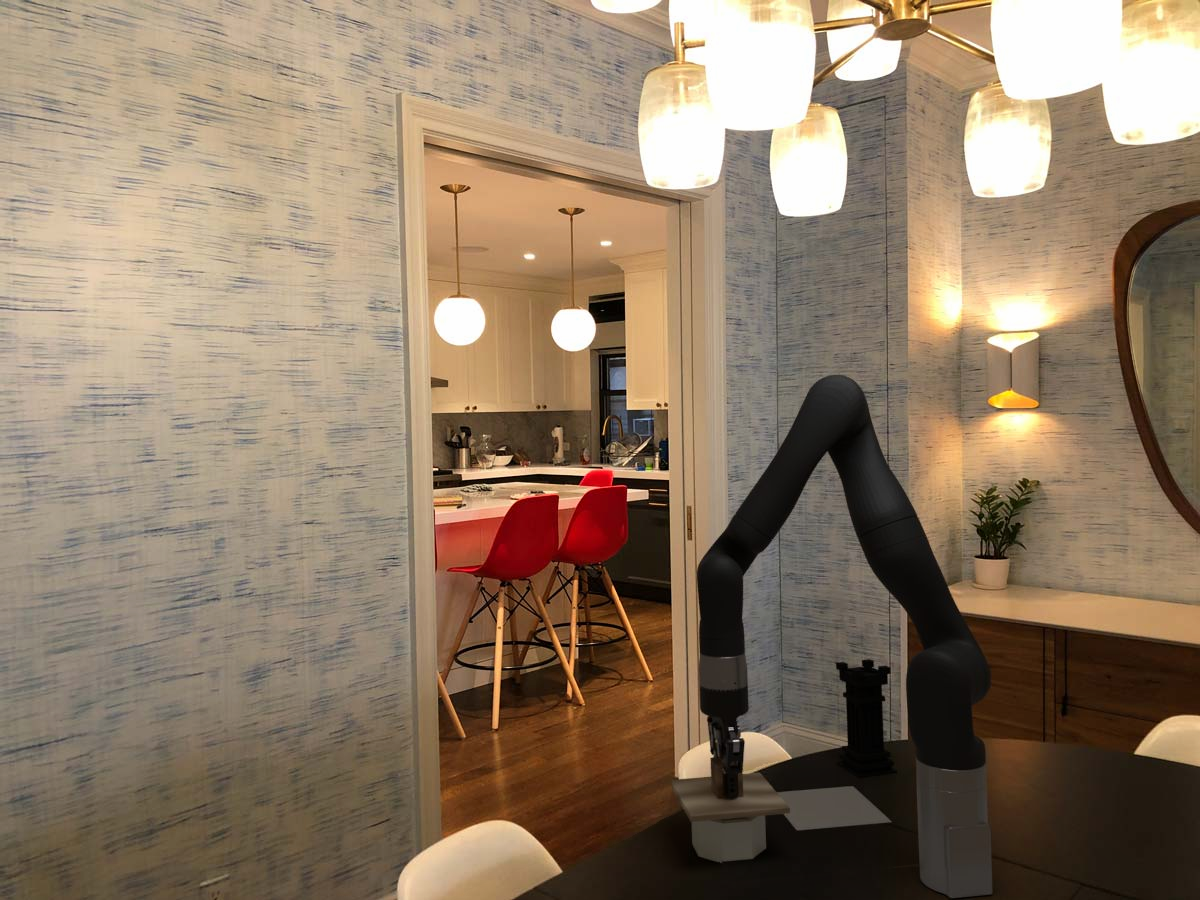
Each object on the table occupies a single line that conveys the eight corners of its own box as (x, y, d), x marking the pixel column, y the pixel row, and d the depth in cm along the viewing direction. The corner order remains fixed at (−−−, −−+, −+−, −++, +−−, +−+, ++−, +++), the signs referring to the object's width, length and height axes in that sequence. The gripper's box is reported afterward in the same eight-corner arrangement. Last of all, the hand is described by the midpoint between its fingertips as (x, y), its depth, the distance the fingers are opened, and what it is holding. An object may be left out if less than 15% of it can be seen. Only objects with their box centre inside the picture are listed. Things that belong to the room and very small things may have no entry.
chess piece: (859, 780, 167) (855, 671, 167) (836, 766, 175) (833, 662, 175) (897, 774, 169) (893, 667, 169) (873, 761, 177) (869, 658, 177)
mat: (892, 824, 148) (892, 821, 148) (796, 832, 146) (796, 830, 146) (852, 788, 163) (852, 786, 163) (766, 795, 161) (766, 793, 161)
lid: (790, 813, 135) (788, 774, 135) (690, 821, 133) (689, 782, 133) (760, 777, 149) (758, 742, 149) (670, 784, 148) (669, 749, 148)
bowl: (772, 859, 137) (771, 819, 137) (703, 865, 135) (702, 825, 135) (752, 830, 147) (750, 793, 147) (688, 835, 146) (686, 798, 146)
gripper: (760, 691, 135) (764, 807, 135) (734, 669, 149) (738, 774, 149) (710, 695, 134) (714, 811, 134) (689, 672, 148) (693, 777, 148)
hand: (727, 791), depth 141 cm, fingers closed on lid, 4 cm apart
